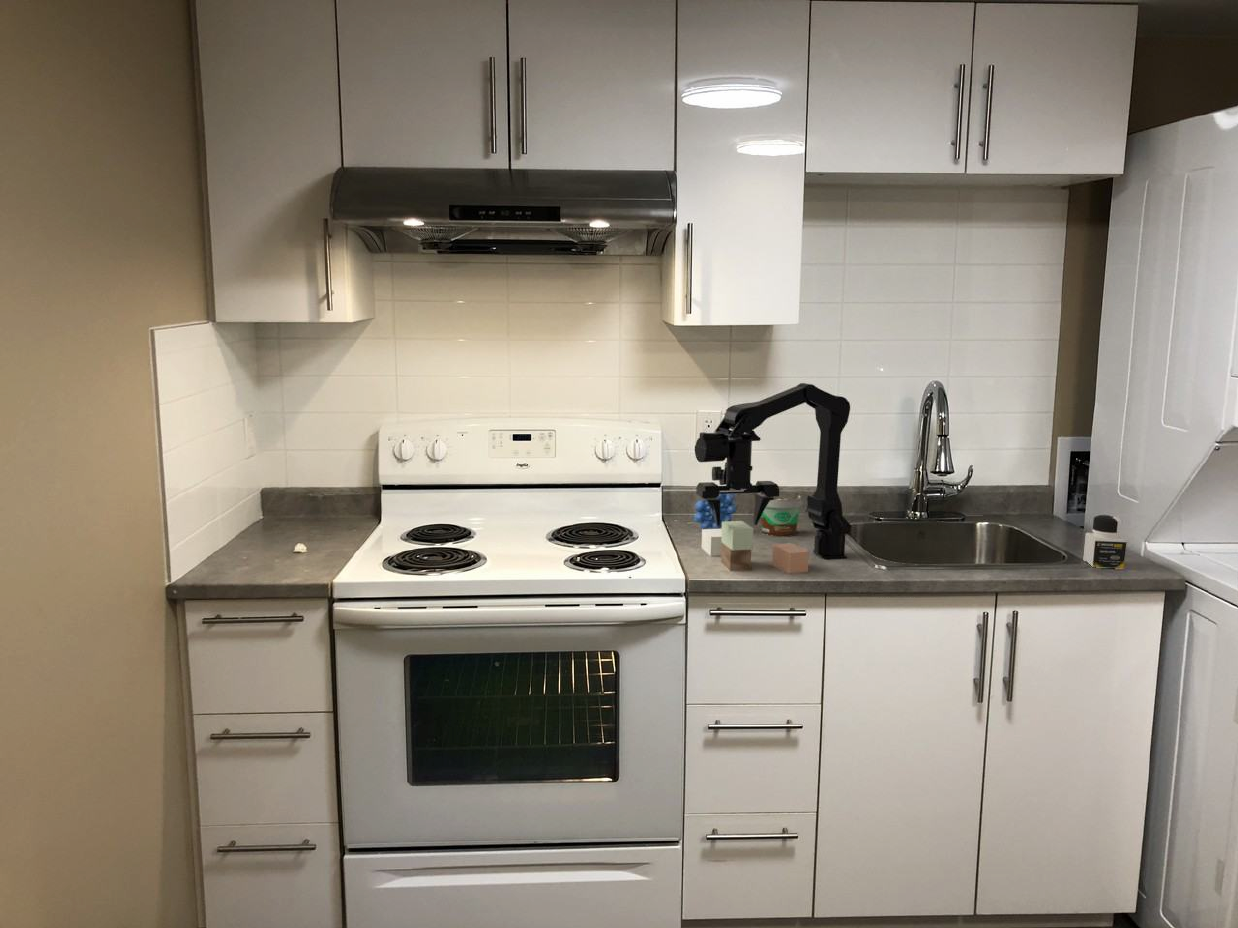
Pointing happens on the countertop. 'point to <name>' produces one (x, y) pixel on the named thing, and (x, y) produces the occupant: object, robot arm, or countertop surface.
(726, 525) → the sage brick
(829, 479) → the robot arm
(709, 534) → the off-white brick
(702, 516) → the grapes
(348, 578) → the countertop surface
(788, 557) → the terracotta brick
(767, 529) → the food container
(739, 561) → the walnut brick
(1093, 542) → the medicine bottle
